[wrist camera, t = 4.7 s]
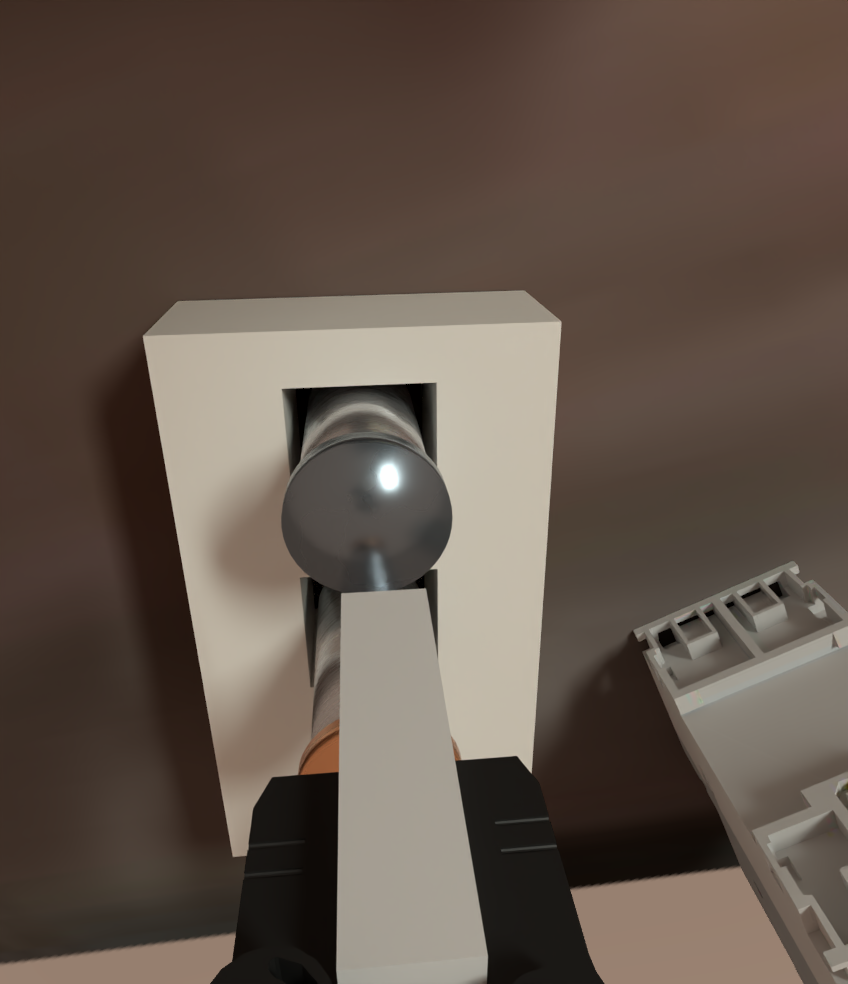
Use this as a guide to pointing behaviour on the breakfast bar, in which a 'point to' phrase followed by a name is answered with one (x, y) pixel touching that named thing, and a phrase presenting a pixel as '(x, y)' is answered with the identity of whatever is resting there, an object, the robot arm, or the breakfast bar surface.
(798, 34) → the breakfast bar surface
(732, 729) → the circuit breaker
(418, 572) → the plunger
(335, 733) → the plunger mid
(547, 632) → the breakfast bar surface
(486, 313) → the panel
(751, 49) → the breakfast bar surface
